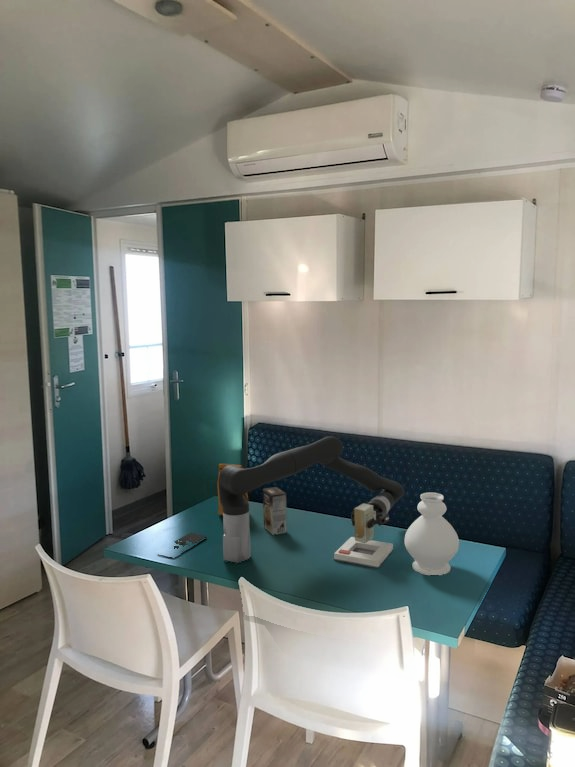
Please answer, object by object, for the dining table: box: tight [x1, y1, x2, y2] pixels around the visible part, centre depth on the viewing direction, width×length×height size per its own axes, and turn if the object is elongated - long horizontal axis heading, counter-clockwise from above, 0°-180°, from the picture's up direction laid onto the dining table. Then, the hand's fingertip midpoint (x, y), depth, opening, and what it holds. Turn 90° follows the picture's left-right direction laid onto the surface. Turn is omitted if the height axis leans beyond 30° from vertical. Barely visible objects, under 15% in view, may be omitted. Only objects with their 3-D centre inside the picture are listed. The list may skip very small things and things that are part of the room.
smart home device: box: [174, 532, 207, 549], centre depth 238 cm, size 8×2×20 cm
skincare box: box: [353, 502, 375, 543], centre depth 225 cm, size 6×4×12 cm
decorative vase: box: [404, 491, 460, 576], centre depth 213 cm, size 18×18×25 cm
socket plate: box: [333, 536, 394, 569], centre depth 226 cm, size 16×16×3 cm
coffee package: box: [216, 463, 249, 516], centre depth 268 cm, size 10×12×22 cm
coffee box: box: [262, 486, 288, 536], centre depth 250 cm, size 9×6×16 cm
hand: (361, 524), depth 222 cm, fingers closed on skincare box, 5 cm apart
